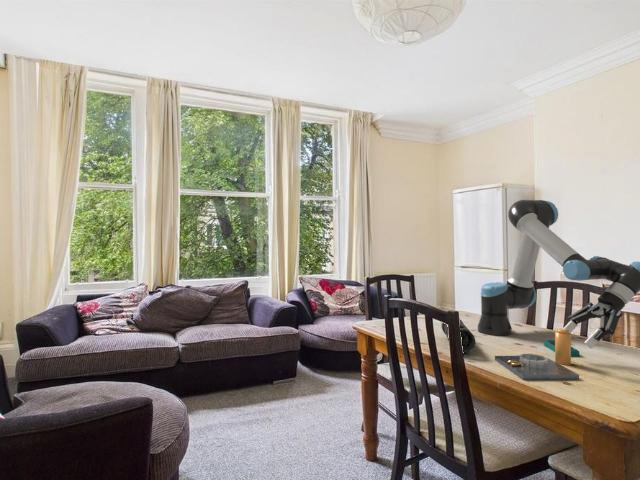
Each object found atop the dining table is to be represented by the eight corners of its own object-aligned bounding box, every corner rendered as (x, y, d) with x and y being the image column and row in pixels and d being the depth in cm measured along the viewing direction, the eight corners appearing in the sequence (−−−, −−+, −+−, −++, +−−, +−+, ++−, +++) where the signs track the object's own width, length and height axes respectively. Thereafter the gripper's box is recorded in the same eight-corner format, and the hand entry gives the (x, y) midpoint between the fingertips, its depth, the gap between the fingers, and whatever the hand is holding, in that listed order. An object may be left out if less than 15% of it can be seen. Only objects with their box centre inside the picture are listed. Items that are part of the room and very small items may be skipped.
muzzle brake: (450, 354, 149) (450, 328, 149) (440, 336, 177) (440, 314, 177) (476, 355, 148) (476, 329, 148) (462, 337, 175) (462, 314, 175)
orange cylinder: (552, 360, 141) (552, 328, 141) (565, 360, 141) (565, 328, 141) (560, 365, 136) (560, 331, 136) (574, 365, 136) (573, 331, 136)
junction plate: (494, 359, 142) (494, 349, 142) (542, 359, 142) (542, 348, 142) (523, 379, 122) (522, 367, 122) (579, 379, 122) (578, 367, 122)
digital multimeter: (562, 346, 160) (561, 339, 160) (580, 357, 145) (580, 350, 145) (543, 346, 161) (543, 339, 161) (559, 357, 147) (559, 349, 147)
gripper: (653, 311, 125) (608, 358, 125) (597, 299, 150) (559, 338, 150) (636, 295, 125) (591, 342, 125) (583, 286, 150) (546, 325, 150)
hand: (574, 340), depth 137 cm, fingers open, 13 cm apart
